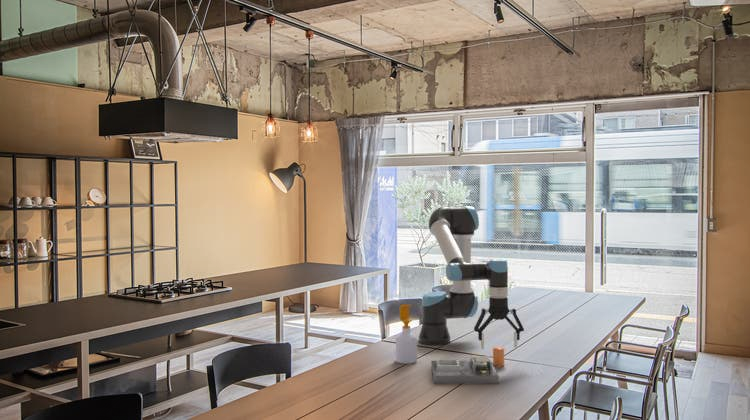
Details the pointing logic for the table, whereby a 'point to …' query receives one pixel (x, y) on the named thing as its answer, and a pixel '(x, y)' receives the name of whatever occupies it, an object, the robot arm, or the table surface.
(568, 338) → the table surface
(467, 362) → the breaker panel
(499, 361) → the cap
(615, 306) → the table surface
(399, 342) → the soap bottle
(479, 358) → the block
